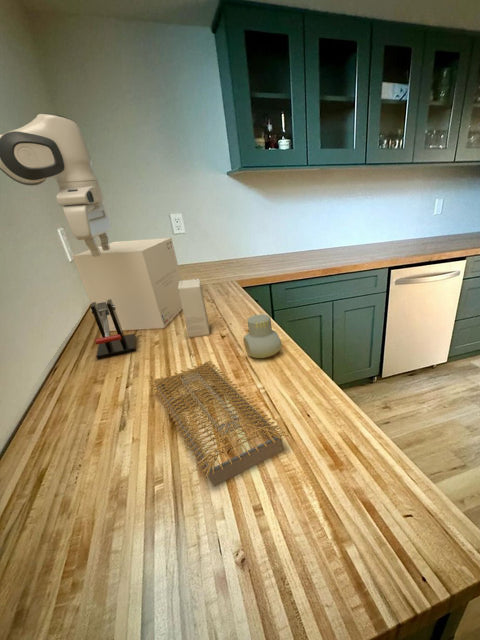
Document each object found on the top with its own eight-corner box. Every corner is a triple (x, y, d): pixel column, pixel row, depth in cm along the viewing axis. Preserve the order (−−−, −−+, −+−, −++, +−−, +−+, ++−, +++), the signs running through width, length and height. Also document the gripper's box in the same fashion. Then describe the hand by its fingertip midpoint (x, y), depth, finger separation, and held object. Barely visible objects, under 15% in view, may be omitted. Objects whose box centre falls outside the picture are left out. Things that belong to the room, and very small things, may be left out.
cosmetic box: (190, 328, 110) (178, 280, 102) (210, 325, 111) (200, 277, 103) (189, 338, 103) (176, 287, 95) (211, 334, 104) (200, 284, 96)
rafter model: (153, 394, 76) (145, 370, 73) (213, 372, 83) (208, 350, 80) (210, 493, 50) (201, 463, 47) (290, 451, 57) (287, 422, 54)
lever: (122, 341, 91) (119, 335, 89) (97, 346, 89) (94, 341, 87) (115, 306, 97) (113, 300, 95) (92, 310, 95) (89, 304, 93)
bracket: (136, 351, 97) (119, 305, 90) (97, 359, 94) (77, 312, 87) (135, 336, 106) (121, 294, 99) (101, 344, 103) (83, 300, 96)
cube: (164, 327, 112) (141, 250, 99) (102, 331, 113) (72, 255, 100) (187, 303, 133) (171, 237, 121) (135, 306, 134) (113, 241, 122)
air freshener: (285, 357, 87) (281, 321, 82) (254, 365, 84) (248, 328, 79) (271, 342, 96) (267, 308, 91) (243, 349, 93) (237, 314, 88)
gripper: (82, 195, 93) (100, 248, 100) (52, 197, 75) (76, 261, 82) (107, 193, 94) (123, 245, 101) (83, 195, 76) (104, 258, 83)
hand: (102, 252), depth 91 cm, fingers open, 8 cm apart
